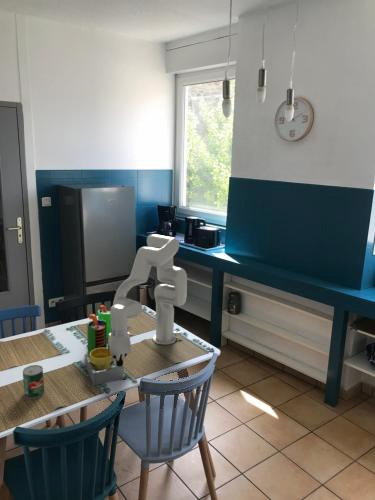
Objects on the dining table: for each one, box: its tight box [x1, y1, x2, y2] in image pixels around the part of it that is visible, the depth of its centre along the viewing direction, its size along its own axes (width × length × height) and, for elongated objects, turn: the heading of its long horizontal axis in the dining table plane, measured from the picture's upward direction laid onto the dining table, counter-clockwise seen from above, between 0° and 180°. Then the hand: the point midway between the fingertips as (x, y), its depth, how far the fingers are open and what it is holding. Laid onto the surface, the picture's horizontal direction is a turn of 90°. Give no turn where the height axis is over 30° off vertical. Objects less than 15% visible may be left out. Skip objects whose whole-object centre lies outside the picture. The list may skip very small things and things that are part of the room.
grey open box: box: [84, 353, 125, 386], centre depth 186 cm, size 14×17×6 cm
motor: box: [86, 313, 108, 354], centre depth 203 cm, size 10×9×20 cm
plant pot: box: [90, 347, 113, 371], centre depth 186 cm, size 10×10×10 cm
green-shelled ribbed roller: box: [97, 304, 111, 339], centre depth 221 cm, size 9×8×18 cm
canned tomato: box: [22, 364, 45, 400], centre depth 168 cm, size 8×8×11 cm
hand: (119, 366), depth 190 cm, fingers closed
